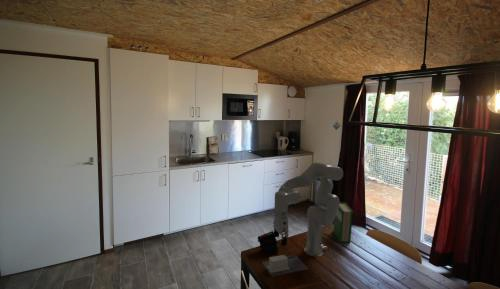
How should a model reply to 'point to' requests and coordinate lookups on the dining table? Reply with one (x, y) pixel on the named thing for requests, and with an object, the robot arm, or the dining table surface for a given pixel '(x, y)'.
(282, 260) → the plug
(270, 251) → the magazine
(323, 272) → the dining table surface
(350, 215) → the hardback book
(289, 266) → the board
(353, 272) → the dining table surface
